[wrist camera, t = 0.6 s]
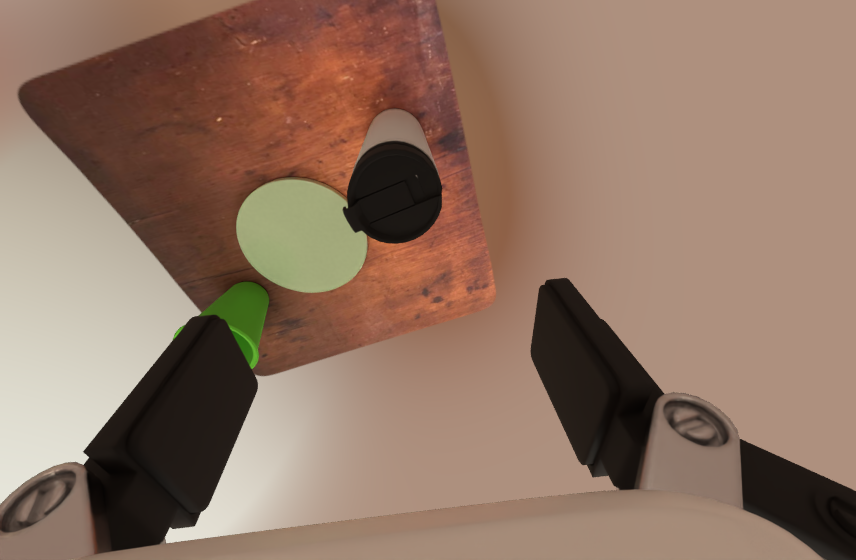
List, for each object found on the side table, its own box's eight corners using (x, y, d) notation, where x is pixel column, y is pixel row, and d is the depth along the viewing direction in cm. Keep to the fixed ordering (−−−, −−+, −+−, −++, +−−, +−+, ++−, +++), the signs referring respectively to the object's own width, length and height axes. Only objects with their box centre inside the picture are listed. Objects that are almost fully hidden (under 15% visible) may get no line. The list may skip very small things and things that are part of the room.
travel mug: (355, 122, 36) (320, 178, 20) (411, 98, 35) (425, 134, 19) (379, 176, 40) (368, 262, 23) (431, 155, 39) (458, 228, 22)
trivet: (217, 183, 39) (213, 186, 38) (355, 170, 39) (354, 173, 38) (264, 294, 48) (262, 298, 47) (376, 282, 48) (376, 286, 47)
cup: (287, 278, 46) (261, 331, 37) (279, 325, 51) (254, 383, 42) (217, 261, 44) (170, 314, 35) (215, 312, 49) (173, 371, 39)
